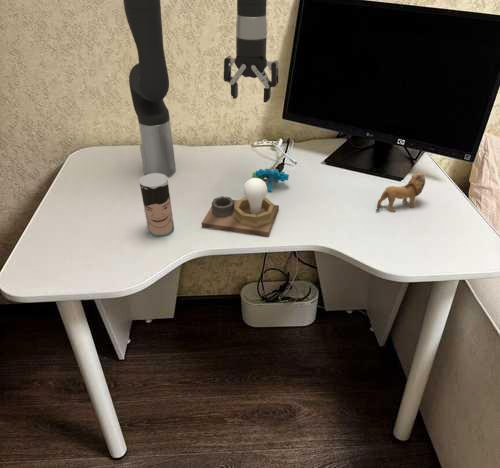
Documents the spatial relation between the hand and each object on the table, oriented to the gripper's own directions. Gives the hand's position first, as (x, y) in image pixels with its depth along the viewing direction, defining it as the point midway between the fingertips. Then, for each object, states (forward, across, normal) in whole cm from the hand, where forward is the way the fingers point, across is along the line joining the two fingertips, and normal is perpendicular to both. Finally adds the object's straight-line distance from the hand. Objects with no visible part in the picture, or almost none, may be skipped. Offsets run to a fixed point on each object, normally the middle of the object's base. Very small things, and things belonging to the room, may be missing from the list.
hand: (250, 99), depth 122 cm
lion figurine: (+26, +43, +2) cm, 50 cm away
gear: (+27, +6, +3) cm, 28 cm away
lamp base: (+27, +3, -16) cm, 32 cm away
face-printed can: (+28, -16, -27) cm, 42 cm away
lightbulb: (+26, +7, -16) cm, 31 cm away
